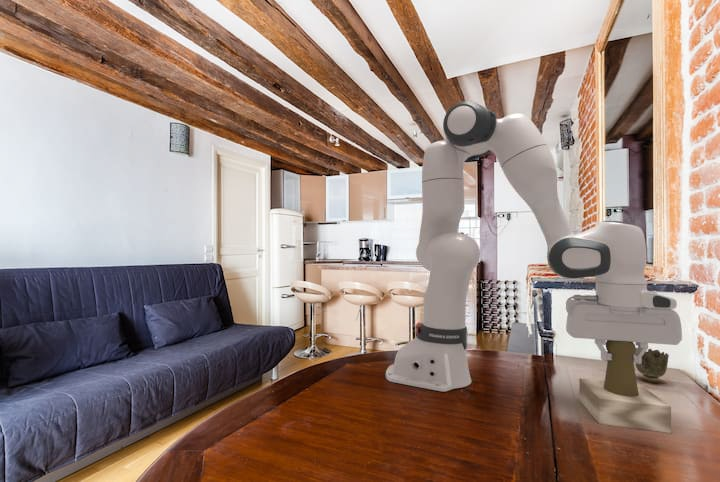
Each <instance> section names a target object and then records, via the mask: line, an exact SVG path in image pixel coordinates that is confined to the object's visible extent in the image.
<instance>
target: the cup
mask: <svg viewBox="0 0 720 482" xmlns="http://www.w3.org/2000/svg"><path fill="white" fill-rule="evenodd" d="M637 348H638V347H636V349H637ZM669 357H670V355H669V353H668V352H666V353H665V352H664V351H662V352H660V350H659V349H655V350H652V348H648V349H647V351H646V352H645V353H644V354H643V356H642V363H641V364H635V363H634V366H635V369H636V370H637V371H638V372H639V373H640V374H642V376H641V378H642V380H644V381H645V382H648V383H653V384H657V383H659V382H660V377H663V376H665V374H666V372H667V368H668V363H669Z"/></svg>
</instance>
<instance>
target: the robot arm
mask: <svg viewBox="0 0 720 482" xmlns="http://www.w3.org/2000/svg"><path fill="white" fill-rule="evenodd" d="M442 123H443V125H442V128H443V129H442V130H443V133H444V136H445V138H444V139H442V140H438V141H434V142H432V143H431V144H429V145H428V146H427V147H426V149H425V151H424V155H423V160H422V167H421V168H422V169H421V188H422V189H421V194H422V196H421V197H422V198H421V199H422V200H421V201H422V202H421V203H422V211H421V212H422V214H421V222H420V229H419V237H418V244H417V246H416V251H415V255H416V256H415V257H416V261H418V263H419V264H420V265H421V266H422V267H423V268H424V269H425V270H427V271H429V277H428V278H429V279H428V283H427V287H426V290H425V292H424V293H423V313H422V315H423V319H422V320H423V322H421V321H420V322H419V321H418V322H416V324H415V327H414V328H415V337H414V338H412V339H411V340H410V341H408V342H407V343H406V344H404V345H402V347H401V348H399V349H398V351H397V352H396V355H395V356H394V357H395V358H394V363H392V364H390V365H389V366H388V367H387V369H386V370H385V378H386V380H387V381H388V382H391V383H397V384H400V385H401V384H402V385H407V386H411V387H416V388H420V389H426V390H432V391H438V392H448V391H451V390H454V389H460V388H465V387H468V386H470V385H471V384H472V378H471V375H470V369H469V363H468V358H467V348H468V338H469V337H468V328H467V326H466V317H467V316H466V311H467V308H466V305H467V294H468V290H469V286H470V281H471V277H472V274H473V271H474V270H475V268H476V267H477V265H478V264H479V262H480V259H481V249H480V246H479V244H478V243H477V241H476V240H475V239H474V238H473V237H471V236H469V235H468V234H467V235H466V234H464V233H461V232H459V226H460V222H461V218H462V216H463V214H464V212H465V188H464V187H465V186H464V185H465V184H464V182H465V181H464V180H465V179H464V165H465V162H466V163H470V162H472V161H474V160H476V159H478V158H482V157H485V156H486V155H488V154H489V153H493V154H494V155H495V157H496V159H497V161H498V164H499V167H501V170H502V172H503V175H504V176H505V178H506V180H507V181H508V183H509V184H510V186H512V189H513V190H514V191H515V192H516V193H517V195H518V196H519V197H520V198H521V199H522V200H523V201H524V202H525V203H526V205H527V206H528V207H529V209H530V210H531V212H532V213H533V215H534V216H535V219H536V221H537V223H538V225H539V227H540V230H541V232H542V234H543V236H544V239H545V241H546V245H547V252H546V253H547V256H546V257H547V258H546V259H547V263H548V266H549V268H550V269H551V271H552V272H553V273H554V274H555V275H557V276H558V277H561V278H562V279H563V278H564V279H568V280H581V279H586V278H590V277H594V278H595V295H593V294H591V295H589V294H588V295H581V294H573V295H572V296H570V297H569V298H567V299H566V302H565V309H566V312H567V316H566V325H565V331H566V332H567V334H568V335H569V336H571V337H572V338H574V339H584V340H587V339H588V340H594V344H595V345H596V346H597V348H598V350H599V351H600V359H601V360H602V361H603V362H608V361H612V358H611V357H612V354H611V353H609V352H608V351H607V349H606V347H604V346H606V341H607V340H612V341H626V342H633V343H634V344H635V346H636V348H637V349H636V352H635V354H634V355H633V362H634V365H635V364H641V363H642V356H643V354H644V353H645V352H648V349H649V344H653V345H654V344H658V345H671V346H677V345H679V344H680V343H681V342H682V340H683V329H682V322H681V317H680V315H679V314H678V312H677V311H676V310H674V309H676V308H677V305H678V304H677V300H676V299H675V298H673V297H670V296H666V295H663V294H660V293H657V292H655V291H651V290H648V286H647V285H648V284H647V283H648V282H647V279H646V277H645V270H646V269H645V268H646V267H647V262H648V261H647V246H646V238H645V234H644V231H643V229H642V228H641V227H640V226H638V225H637V224H635V223H632V222H631V223H630V222H626V221H621V220H619V221H618V220H604V221H600V222H599V223H598V224H595V225H594V226H593V227H591V228H588V229H586V230H584V231H581V232H579V233H575V231H573V229H572V227H571V225H570V222H569V221H568V218H567V216H566V213H565V212H564V210H563V207H562V205H561V203H560V200H559V195H558V194H559V193H558V172H557V167H556V163H555V160H554V156H553V154H552V152H551V149H550V148H549V145H548V143H547V141H546V140H545V138H544V137H543V135H542V133H541V131H540V130H539V129H538V127H537V126H536V124H535V123H534V122H533V121H532V120H531V118H530V117H529V116H528V115H526V114H524V113H521V112H518V113H516V112H515V113H512V114H511V113H510V114H508V115H506V116H504V117H502V118H497V115H496V113H495V112H494V111H492V110H490V109H488V108H486V107H484V106H483V105H481V104H480V103H479V104H478V103H477V102H474V101H470V100H464V101H460V102H457V103H455V104H453V105H452V106H451V107H450V108H449V109H448V110H447V112H446V113H445V115H444V118H443V122H442Z"/></svg>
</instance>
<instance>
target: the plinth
mask: <svg viewBox="0 0 720 482" xmlns="http://www.w3.org/2000/svg"><path fill="white" fill-rule="evenodd" d="M578 382H579V384H578V386H579V388H578V389H579V391H578V392H579V393H578V394H579V395H578V396H579V397H578V398H579V399H578V400H579V402H580V403H581V404H582V405H583V406H584V408H586V410H587V409H588V410H587V411H588V412H589V413H590V414H591V415H592V417H593V418H594V419H595V420H596V422H597V423H598V424H599V425H605V426H606V425H607V426H614V427H620V426H621V428H628V429H639V430H646V431H650V432H651V431H653V432H660V433H666V434H667V433H669V434H671V433H672V406H671V405H670V404H668V403H667V402H666V401H664V400H662V399H661V398H660V397H658V396H657V395H656V394H654V393H653V392H651V391H650V390H648V388H646V387H644V386H643V385H642V384H640V383H637V386H638V393H639V395H638V396H635V397H629V396H622V395H617V394H614V393H611V392H608V391H607V390H605V389H604V382H605V380H603V379H602V380H601V379H591V378H582V377H579V381H578Z"/></svg>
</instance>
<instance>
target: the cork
mask: <svg viewBox="0 0 720 482" xmlns="http://www.w3.org/2000/svg"><path fill="white" fill-rule="evenodd" d="M636 348H637V346H636V344H635V342H626V341H612V340H606V345H605V350H606V351H608V352H609V353H611V354H612V357H611V358H612V361H606V362H607V364H606V370H605V375H604V376H605V377H604V381H605V382H604V389H605V390H607V391H608V392H611V393H614V394H617V395H622V396H629V397H635V396H638V395H639V393H638V386H637V384H638V382H637V381H638V380H637V376H636V370H635V369H636V367H635V363H634V362H633V355H634V354H635V352H636Z"/></svg>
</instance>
